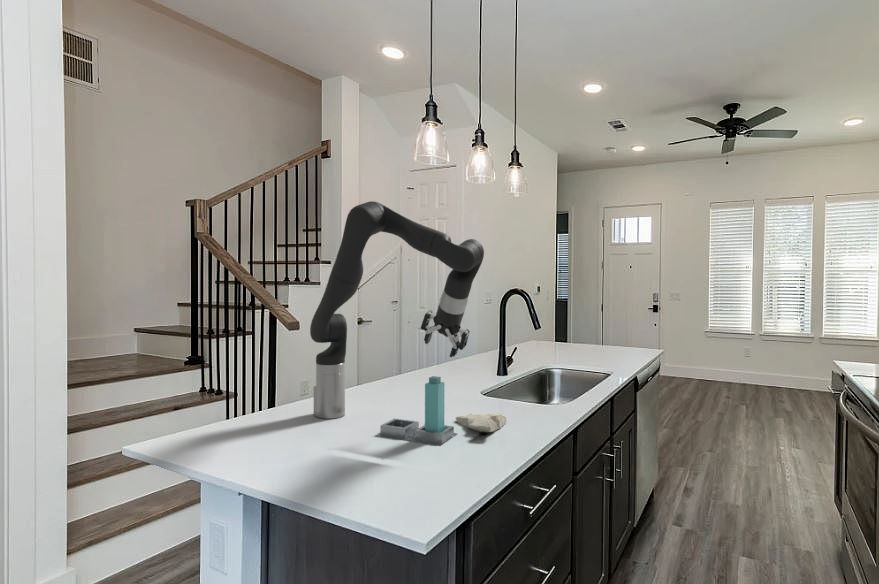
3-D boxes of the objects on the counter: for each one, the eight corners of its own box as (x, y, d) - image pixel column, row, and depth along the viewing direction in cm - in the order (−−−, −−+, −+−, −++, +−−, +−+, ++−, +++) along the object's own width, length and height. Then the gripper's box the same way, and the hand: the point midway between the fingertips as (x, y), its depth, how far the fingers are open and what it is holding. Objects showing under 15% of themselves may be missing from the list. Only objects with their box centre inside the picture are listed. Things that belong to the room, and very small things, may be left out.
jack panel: (375, 440, 145) (375, 427, 145) (396, 428, 156) (396, 416, 156) (440, 450, 137) (440, 436, 137) (458, 437, 148) (458, 424, 148)
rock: (441, 436, 150) (489, 438, 144) (440, 419, 151) (488, 421, 144) (470, 423, 170) (514, 424, 163) (469, 408, 170) (513, 409, 163)
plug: (424, 438, 143) (425, 377, 143) (431, 434, 147) (431, 375, 146) (437, 440, 141) (438, 379, 141) (444, 436, 145) (444, 376, 144)
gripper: (480, 310, 147) (465, 354, 156) (437, 289, 152) (425, 332, 160) (468, 322, 142) (454, 366, 150) (424, 299, 146) (412, 344, 154)
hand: (439, 349), depth 155 cm, fingers open, 8 cm apart
